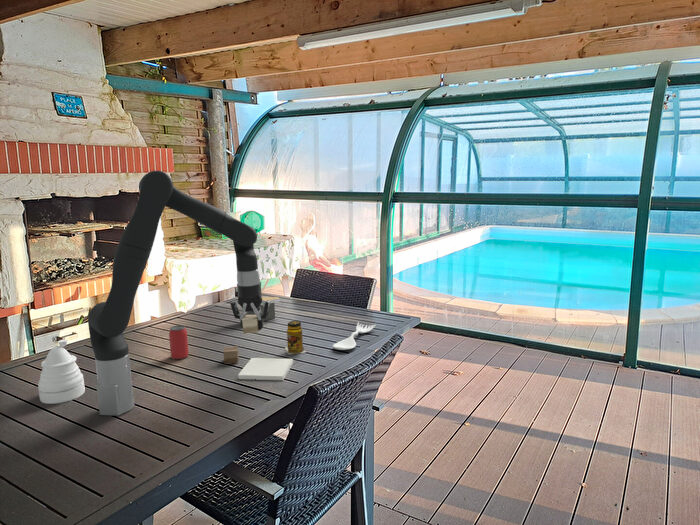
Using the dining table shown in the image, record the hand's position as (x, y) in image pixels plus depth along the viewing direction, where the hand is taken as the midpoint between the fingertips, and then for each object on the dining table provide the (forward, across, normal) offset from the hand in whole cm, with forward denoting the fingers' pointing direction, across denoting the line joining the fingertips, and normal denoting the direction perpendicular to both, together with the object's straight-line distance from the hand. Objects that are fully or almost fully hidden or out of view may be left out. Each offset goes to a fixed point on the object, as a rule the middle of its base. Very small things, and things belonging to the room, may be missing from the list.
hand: (252, 329), depth 172 cm
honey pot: (+15, -59, -21) cm, 64 cm away
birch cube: (0, 0, 0) cm, 0 cm away
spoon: (+19, +32, +37) cm, 52 cm away
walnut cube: (+17, -13, +11) cm, 24 cm away
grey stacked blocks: (+18, -18, +62) cm, 67 cm away
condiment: (+18, +9, +24) cm, 31 cm away
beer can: (+16, -35, +14) cm, 41 cm away
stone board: (+17, +3, +3) cm, 17 cm away
